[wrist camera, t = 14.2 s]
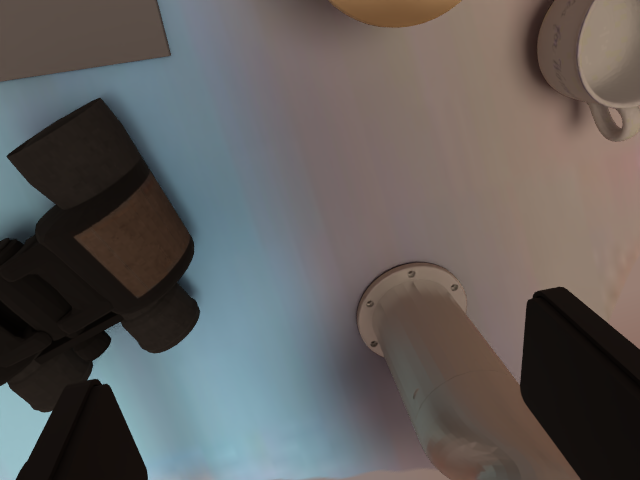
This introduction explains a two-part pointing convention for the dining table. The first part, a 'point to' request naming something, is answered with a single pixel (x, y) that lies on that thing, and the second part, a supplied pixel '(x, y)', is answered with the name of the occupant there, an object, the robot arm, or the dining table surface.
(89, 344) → the binoculars
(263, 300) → the dining table surface
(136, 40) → the rubber mat
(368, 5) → the oak lid
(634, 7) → the teacup
